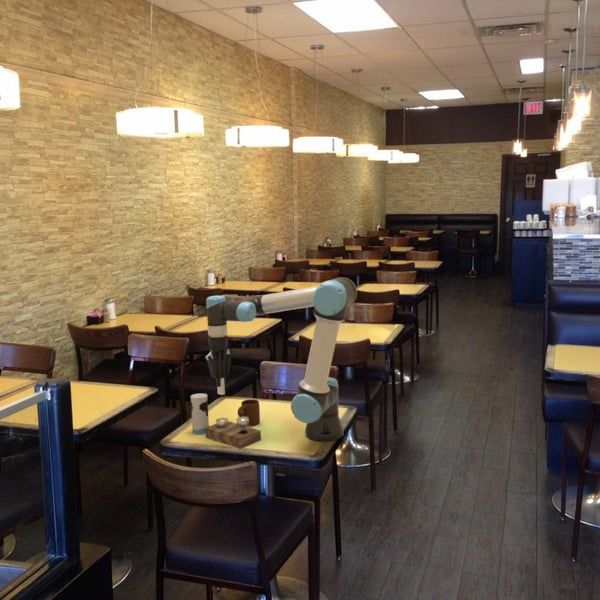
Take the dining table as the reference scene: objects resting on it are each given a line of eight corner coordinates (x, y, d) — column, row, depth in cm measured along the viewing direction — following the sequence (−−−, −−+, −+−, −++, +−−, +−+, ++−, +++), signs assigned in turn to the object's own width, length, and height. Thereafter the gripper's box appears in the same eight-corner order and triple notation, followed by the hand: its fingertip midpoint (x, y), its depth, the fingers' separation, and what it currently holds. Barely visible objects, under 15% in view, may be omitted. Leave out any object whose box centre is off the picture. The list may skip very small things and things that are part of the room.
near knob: (251, 433, 259) (251, 418, 258) (243, 436, 255) (242, 421, 254) (243, 430, 262) (242, 415, 261) (234, 433, 258) (234, 418, 257)
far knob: (230, 433, 267) (230, 419, 266) (222, 437, 263) (221, 422, 263) (223, 431, 270) (222, 417, 269) (214, 434, 266) (213, 420, 266)
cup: (212, 430, 273) (210, 394, 271) (201, 435, 268) (199, 399, 266) (200, 427, 277) (198, 392, 275) (189, 432, 272) (187, 396, 269)
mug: (246, 430, 272) (245, 408, 270) (231, 427, 276) (230, 405, 274) (263, 422, 281) (262, 400, 280) (249, 419, 286) (248, 398, 284)
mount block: (261, 440, 260) (260, 430, 260) (240, 448, 252) (240, 438, 252) (226, 429, 273) (225, 420, 273) (205, 437, 265) (205, 427, 265)
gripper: (223, 331, 268) (227, 388, 271) (198, 337, 258) (202, 396, 262) (236, 333, 263) (239, 391, 266) (211, 339, 253) (215, 399, 257)
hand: (221, 393), depth 264 cm, fingers closed
